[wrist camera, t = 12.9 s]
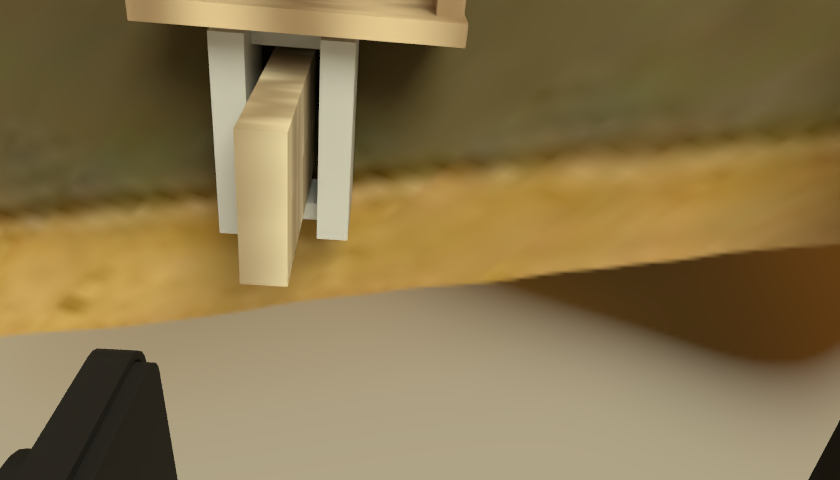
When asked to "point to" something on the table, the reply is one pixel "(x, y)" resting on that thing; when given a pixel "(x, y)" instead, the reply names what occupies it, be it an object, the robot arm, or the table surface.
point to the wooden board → (275, 165)
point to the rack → (319, 18)
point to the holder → (332, 192)
